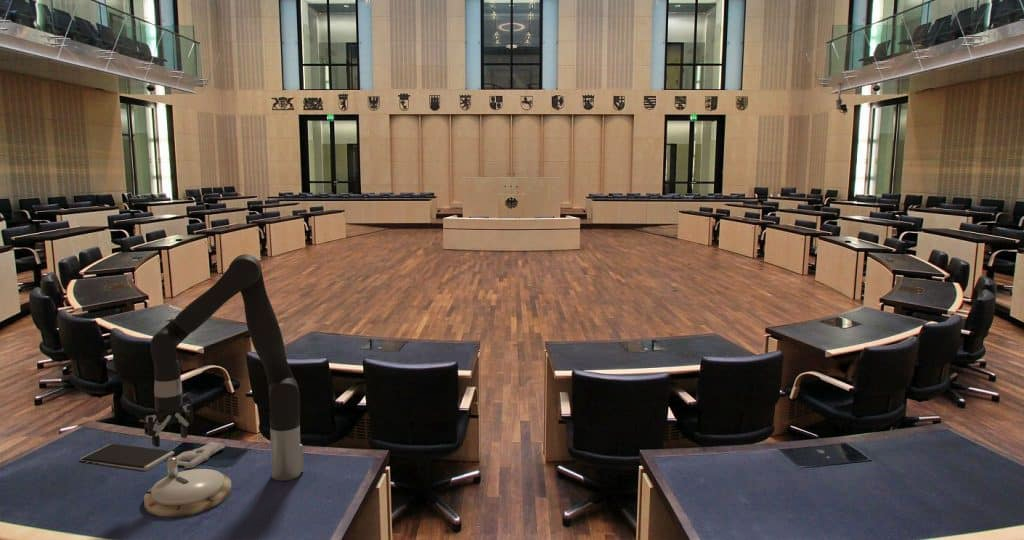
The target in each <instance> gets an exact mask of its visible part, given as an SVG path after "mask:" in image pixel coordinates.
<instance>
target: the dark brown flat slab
mask: <svg viewBox="0 0 1024 540" xmlns="http://www.w3.org/2000/svg"><path fill="white" fill-rule="evenodd" d="M172 455H173V456H174V455H175V451H173V450H166V449H165V450H164V449H157V448H151V447H150V448H149V447H141V446H136V445H135V446H134V445H128V444H127V445H125V444H118V443H110V444H107V445H105V446H103V447H101V448H99V449H97V450H95V451H93V452H91V453H88V454H86V455H85V456H83V457H80V460H81V461H86V462H85V463H88V462H93V463H92V464H95V463H98V464H97V465H102V464H103V466H109V465H110V467H116V466H117V467H116V468H125V469H132V470H139V471H148V470H151V469H152V468H153V467H155V466H157V465H159V464H160V463H162V462H164V461H167V458H169V457H173V456H172ZM81 461H80V462H81Z"/></svg>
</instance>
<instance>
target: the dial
mask: <svg viewBox="0 0 1024 540" xmlns="http://www.w3.org/2000/svg"><path fill="white" fill-rule="evenodd" d="M166 464H167V465H166V466H167V467H166V468H167V476H166V477H164V478H161V479H159V480H158V481H157V482H156V483H155V484H154V485H153V486H152V487H151V488H152V490H151V494H152V499H153V500H154V501H155V502H156V503H158V504H162V505H169V506H177V505H186V504H191V503H196V502H199V501H202V500H205V499H207V498H209V497H211V496H213V495H215V494H216V493H218V492H219V491H220V490H221V489H222V488H223V486H224V476H223V473H221V472H220V471H217V470H215V469H209V468H208V469H207V468H196V469H195V468H193V469H188V470H183V471H178V470H179V468H178V466H179V465H177V457H176V456H171V457H169V458H168V459H166Z"/></svg>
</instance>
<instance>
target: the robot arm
mask: <svg viewBox="0 0 1024 540" xmlns="http://www.w3.org/2000/svg"><path fill="white" fill-rule="evenodd" d="M239 293H240V295H241V296H242V297H241V298H242V301H243V306H244V316H245V322H246V327H247V330H248V331H247V332H248V333H249V337H250V340H251V343H252V345H253V348H254V351H255V353H256V354H257V356H258V359H259V360H260V362H261V363H262V365H263V368H264V371H265V376H266V380H267V385H268V397H269V398H268V399H269V427H270V428H269V429H270V431H269V432H270V461H271V464H270V465H271V467H270V468H271V478H272V479H273V480H275V481H280V482H281V481H282V482H283V481H284V482H286V481H291V480H294V479H297V478H298V477H299V476H301V474H302V473H303V472H304V446H303V444H302V443H301V425H300V424H301V423H300V422H301V421H300V420H301V397H300V388H299V385H298V383H297V380H296V379H295V377H294V375H293V372H292V370H291V367H290V366H289V363H288V360H287V356H286V349H285V343H284V339H283V334H282V331H281V328H280V325H279V321H278V319H277V315H276V313H275V310H274V308H273V306H272V303H271V301H270V299H269V296H268V292H267V290H266V285H265V281H264V276H263V269H262V265H261V263H260V261H259V260H258V259H257V258H256V257H255V256H254V255H252V254H247V253H246V254H245V253H243V254H240V255H238V256H236V257H235V258H234V259H233V260H232V261H231V262H230V264H229V265H228V268H227V270H226V271H225V272H224V273H223V274H222V276H221V277H220V278H219V279H218V280H217V281H216V282H215V283H214V284H213V285H212V286H210V288H208V290H206V291H204V292H203V293H201V295H199V296H198V297H196V298H195V299H194V300H192V301H191V302H190V303H189V304H188V305H187V306H185V308H183V310H181V311H180V312H179V313H178V314H177V315H176V316H175V318H173V319H172V320H171V321H170V322H168V323H167V324H166V325H165V326H163V327H162V328H161V329H160V330H158V332H157V331H156V333H155V334H154V335H153V336H152V338H151V341H150V354H151V358H152V362H153V365H154V368H153V369H154V372H153V373H154V387H153V389H154V391H153V394H154V408H155V413H154V414H151V415H148V414H147V415H146V414H145V416H144V435H146V436H148V437H151V445H152V446H154V447H155V448H160V447H161V441H160V433H161V432H162V430H164V429H165V427H166V426H170V425H172V424H177V422H178V423H179V424H180V427H179V428H180V437H181V438H182V439H186V438H188V437H187V436H188V435H189V425H190V424H193V423H194V422H195V416H194V409H193V405H192V404H189V403H186V404H184V405H183V403H184V401H183V385H182V383H183V382H182V379H181V378H182V377H181V363H180V361H179V359H178V355H177V347H179V345H180V344H181V343H182V342H183V341H184V340H185V339H186V338H187V337H188V336H190V334H192V333H193V332H195V331H197V329H199V328H200V327H201V326H202V325H204V323H205V322H207V321H208V320H209V319H210V318H211V317H212V316H213V315H214V314H215V313H216V312H217V311H218V310H219V309H221V307H222V306H223V305H224V304H226V303H227V302H228V301H229V300H230V299H232V298H233V297H235V296H236V295H238V294H239ZM184 412H185V414H184V415H185V418H184V417H183V416H182V414H183V413H184ZM301 472H302V473H301Z"/></svg>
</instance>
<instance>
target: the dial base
mask: <svg viewBox="0 0 1024 540" xmlns="http://www.w3.org/2000/svg"><path fill="white" fill-rule="evenodd" d="M222 474H223V473H222ZM223 476H224V486H223V488H222V489H221V490H220V491H219V492H218V493H216V494H215V495H213V496H211V497H209V498H207V499H205V500H202V501H199V502H196V503H191V504H186V505H177V506H169V505H162V504H158V503H156V502H155V501H154V500H153V499H152V494H151V490H152V487H150V488H149V489H148V490H146V491H145V494H144V497H143V502H144V505H143V506H144V510H146V511H147V512H148V513H149V514H151V515H155V516H159V517H173V518H174V517H182V516H189V515H193V514H197V513H201V512H204V511H207V510H209V509H211V508H214V507H215V506H217V505H219V504H221V503H223V502H224V501H225V500H226V499H228V497H229V496H230V494H231V492H232V480H231V478H230V477H229V476H227V475H226V474H223Z"/></svg>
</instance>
